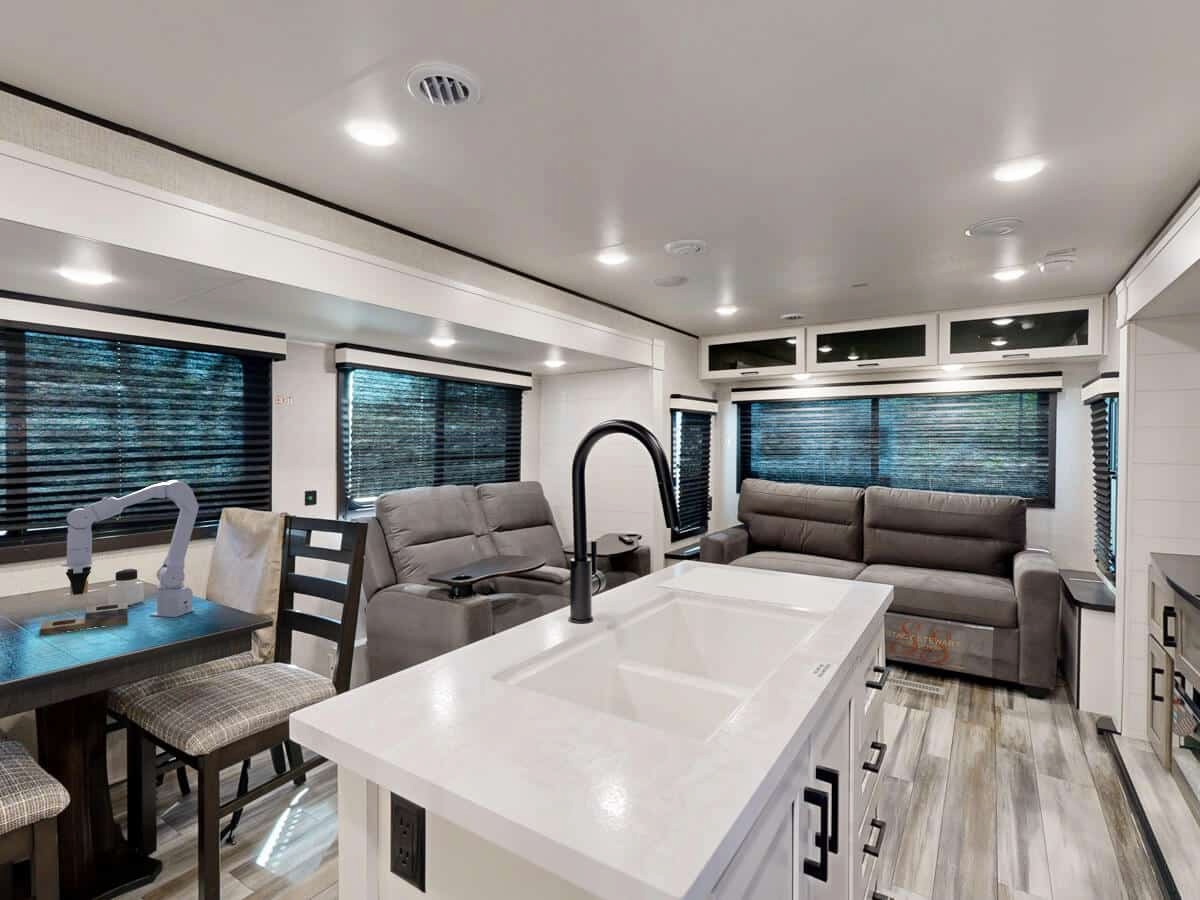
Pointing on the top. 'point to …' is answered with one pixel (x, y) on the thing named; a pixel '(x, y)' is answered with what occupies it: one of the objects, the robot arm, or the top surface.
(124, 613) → the wooden base
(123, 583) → the medicine bottle
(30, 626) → the top surface
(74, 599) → the plug
